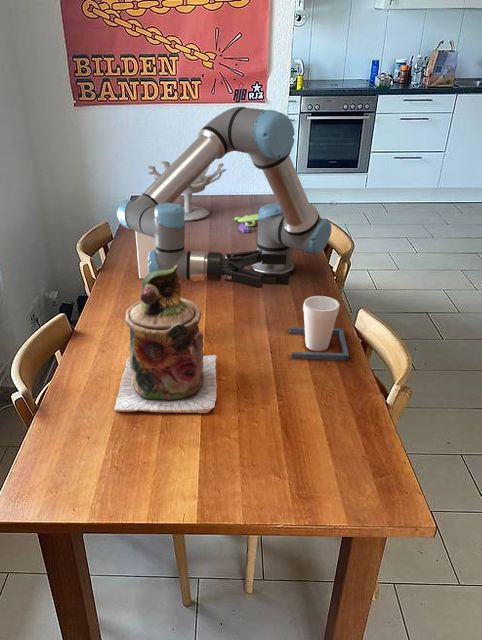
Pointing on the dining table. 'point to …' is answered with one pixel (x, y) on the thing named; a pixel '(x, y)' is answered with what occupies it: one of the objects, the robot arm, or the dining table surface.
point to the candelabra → (193, 191)
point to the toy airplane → (247, 222)
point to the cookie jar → (166, 352)
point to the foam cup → (319, 321)
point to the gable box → (144, 252)
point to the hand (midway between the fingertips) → (287, 269)
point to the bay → (322, 356)
